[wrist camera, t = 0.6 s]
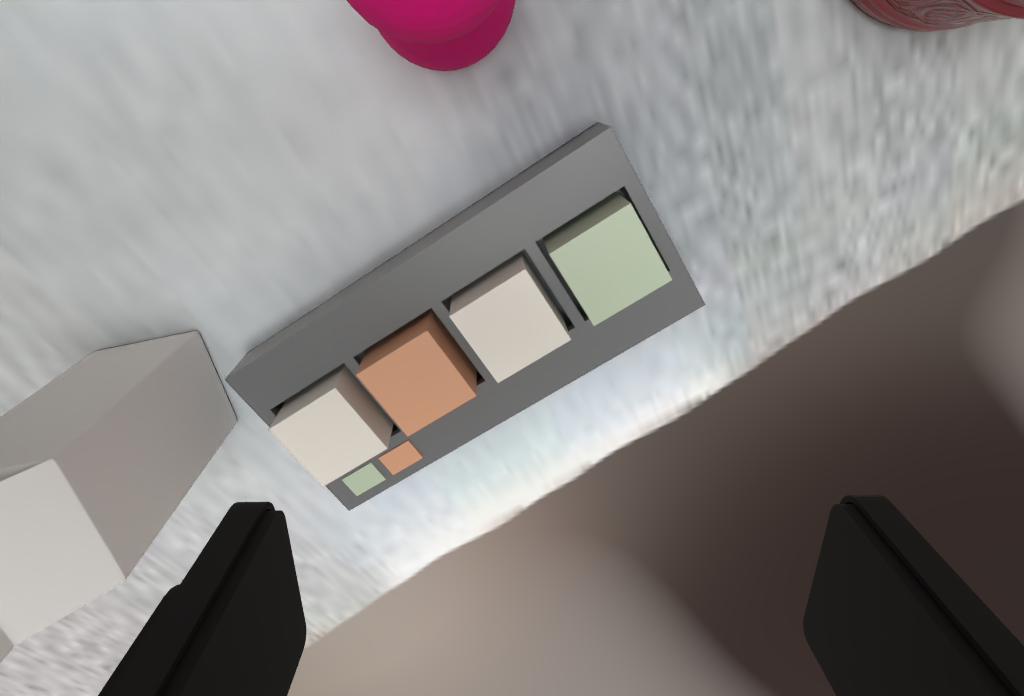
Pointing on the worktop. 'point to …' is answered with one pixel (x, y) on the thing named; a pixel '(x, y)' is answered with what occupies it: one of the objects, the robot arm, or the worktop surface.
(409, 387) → the key terracotta
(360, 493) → the keypad
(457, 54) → the pepper mill
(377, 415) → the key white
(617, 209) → the key sage
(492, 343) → the key white mid
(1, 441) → the milk carton
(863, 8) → the canister
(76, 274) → the worktop surface
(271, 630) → the robot arm
